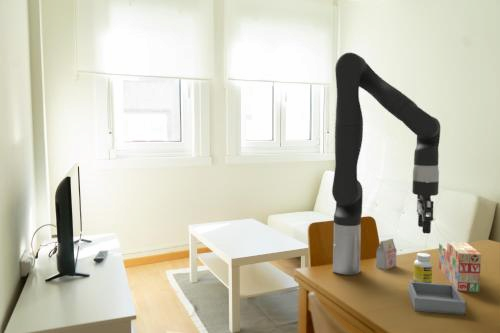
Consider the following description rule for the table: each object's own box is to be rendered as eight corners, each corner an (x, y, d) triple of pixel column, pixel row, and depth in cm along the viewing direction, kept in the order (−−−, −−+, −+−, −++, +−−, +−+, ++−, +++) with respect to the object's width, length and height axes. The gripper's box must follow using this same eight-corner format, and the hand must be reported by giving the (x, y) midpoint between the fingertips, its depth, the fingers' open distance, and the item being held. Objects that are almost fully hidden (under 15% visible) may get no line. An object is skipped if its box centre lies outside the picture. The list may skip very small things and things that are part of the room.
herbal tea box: (376, 267, 144) (376, 240, 143) (387, 263, 148) (388, 237, 147) (384, 269, 141) (385, 242, 140) (396, 266, 145) (396, 239, 144)
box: (414, 310, 108) (414, 297, 108) (408, 292, 121) (408, 281, 120) (465, 315, 105) (465, 302, 105) (453, 296, 117) (453, 285, 117)
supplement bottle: (423, 288, 123) (424, 258, 123) (409, 282, 128) (410, 253, 127) (435, 285, 126) (436, 255, 125) (421, 279, 131) (422, 251, 130)
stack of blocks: (438, 268, 142) (439, 234, 141) (457, 269, 141) (458, 235, 140) (457, 291, 121) (459, 252, 120) (479, 293, 120) (481, 253, 119)
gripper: (409, 176, 132) (408, 224, 134) (416, 181, 118) (414, 234, 120) (433, 177, 130) (432, 225, 132) (443, 182, 117) (441, 236, 118)
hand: (424, 229), depth 126 cm, fingers open, 8 cm apart
